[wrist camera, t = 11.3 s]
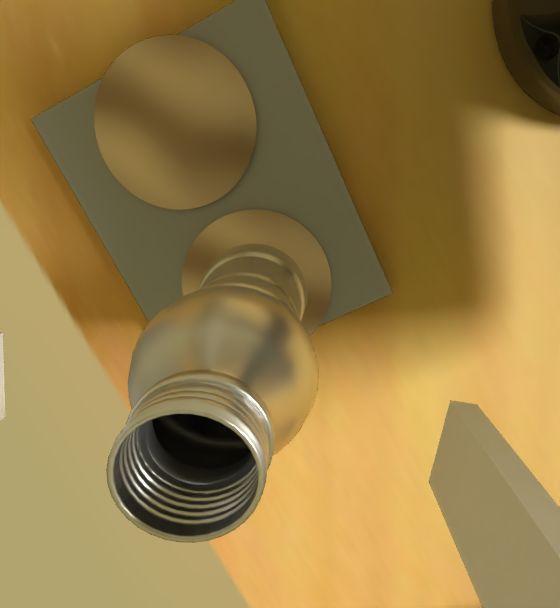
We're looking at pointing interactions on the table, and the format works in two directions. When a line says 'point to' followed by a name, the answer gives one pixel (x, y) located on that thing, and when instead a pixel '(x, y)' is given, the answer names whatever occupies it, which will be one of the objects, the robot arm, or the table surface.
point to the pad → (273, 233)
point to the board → (245, 194)
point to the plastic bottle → (215, 397)
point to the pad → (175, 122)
